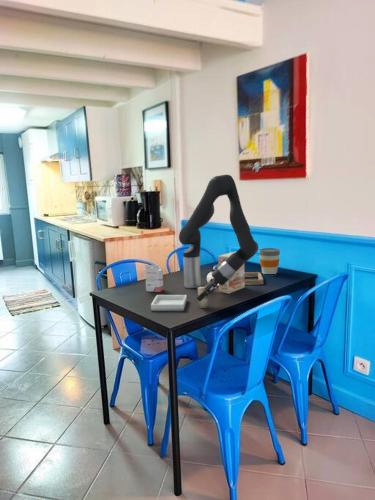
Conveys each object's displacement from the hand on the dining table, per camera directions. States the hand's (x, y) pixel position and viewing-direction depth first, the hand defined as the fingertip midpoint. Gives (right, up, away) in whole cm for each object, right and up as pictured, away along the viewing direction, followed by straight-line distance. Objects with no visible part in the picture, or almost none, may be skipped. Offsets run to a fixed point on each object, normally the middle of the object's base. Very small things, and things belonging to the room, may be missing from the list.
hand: (198, 298), depth 174 cm
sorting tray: (-14, -4, +4) cm, 15 cm away
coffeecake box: (+19, +1, +27) cm, 33 cm away
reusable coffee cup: (+46, +8, +60) cm, 76 cm away
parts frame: (+29, +5, +45) cm, 54 cm away
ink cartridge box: (-23, 0, +31) cm, 39 cm away
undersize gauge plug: (+2, -4, +1) cm, 5 cm away
